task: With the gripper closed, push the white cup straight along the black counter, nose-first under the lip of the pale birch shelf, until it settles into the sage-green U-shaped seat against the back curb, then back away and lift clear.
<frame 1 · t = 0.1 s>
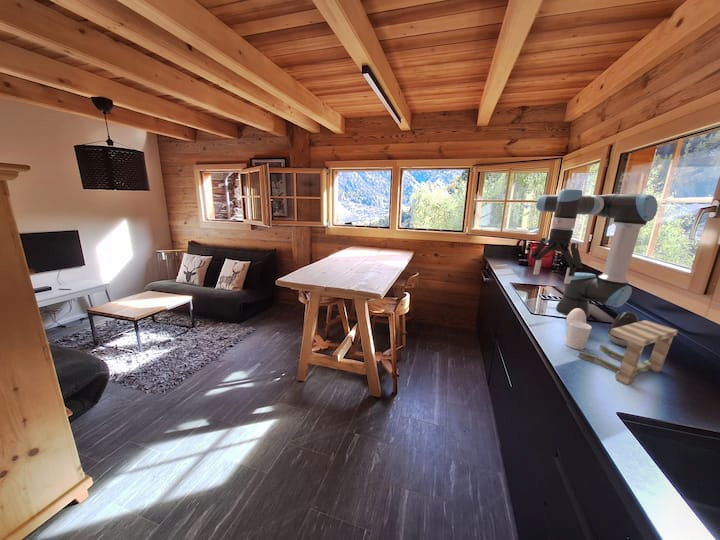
hand: (550, 278, 121), 28 cm above the worktop, tool pointing down, fingers open, 13 cm apart
white cup: (574, 346, 122), on the worktop
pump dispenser: (620, 343, 126), on the worktop
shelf: (619, 366, 108), on the worktop
egg: (573, 331, 136), on the worktop
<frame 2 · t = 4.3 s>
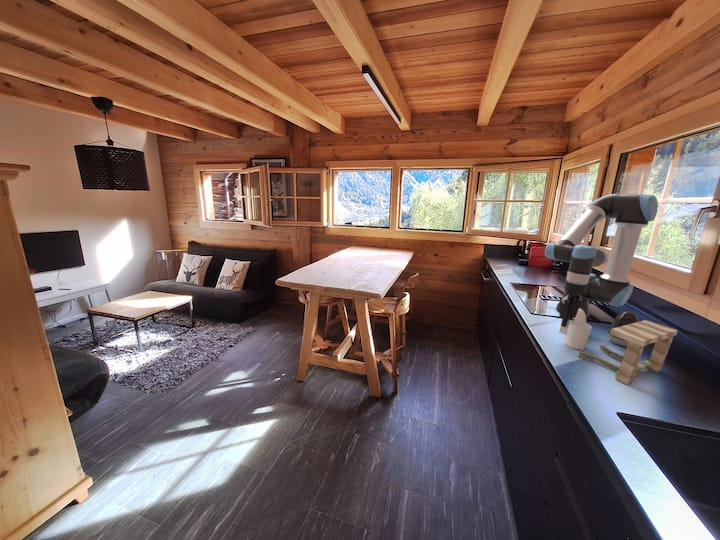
hand: (563, 332, 126), 4 cm above the worktop, tool pointing down, fingers closed
white cup: (574, 346, 122), on the worktop, touching gripper
everything else where it was.
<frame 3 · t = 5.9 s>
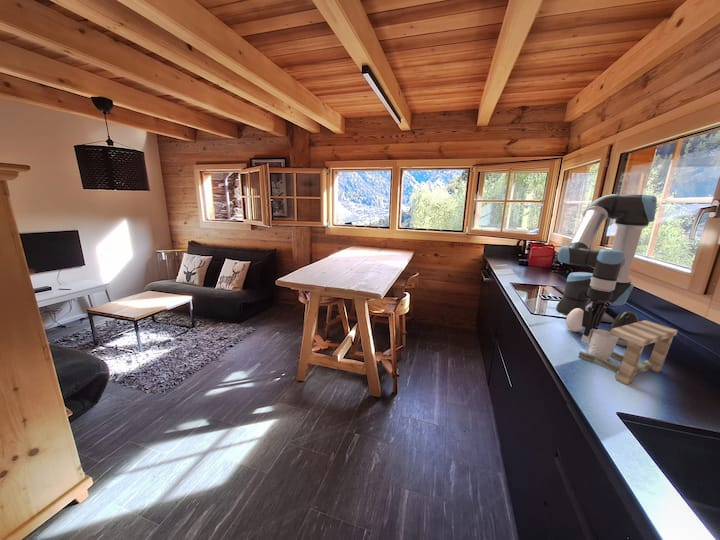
hand: (585, 342, 118), 4 cm above the worktop, tool pointing down, fingers closed
white cup: (597, 356, 115), on the worktop, touching gripper
everything else where it was.
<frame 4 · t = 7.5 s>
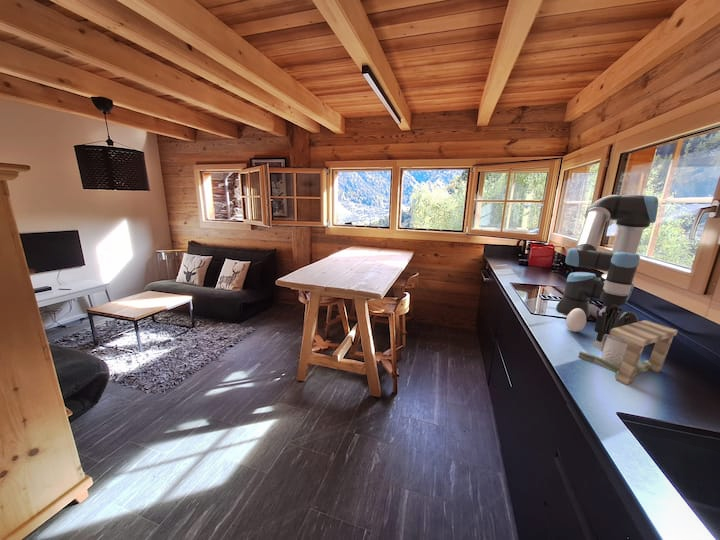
hand: (598, 347, 114), 4 cm above the worktop, tool pointing down, fingers closed
white cup: (612, 362, 111), on the worktop, touching gripper
everything else where it was.
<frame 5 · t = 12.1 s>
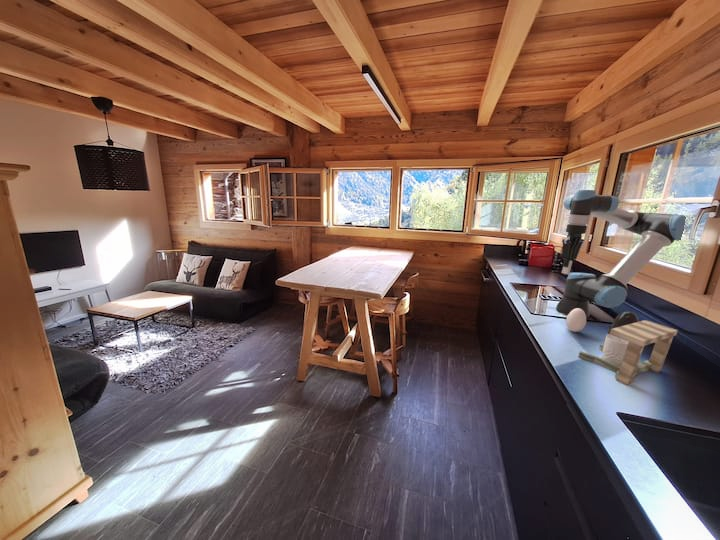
hand: (565, 273, 137), 26 cm above the worktop, tool pointing down, fingers closed
white cup: (612, 362, 111), on the worktop
everything else where it was.
at the end: white cup 1.3 cm from the target spot, on the worktop; white cup tilted 0°; the gripper is holding nothing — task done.
